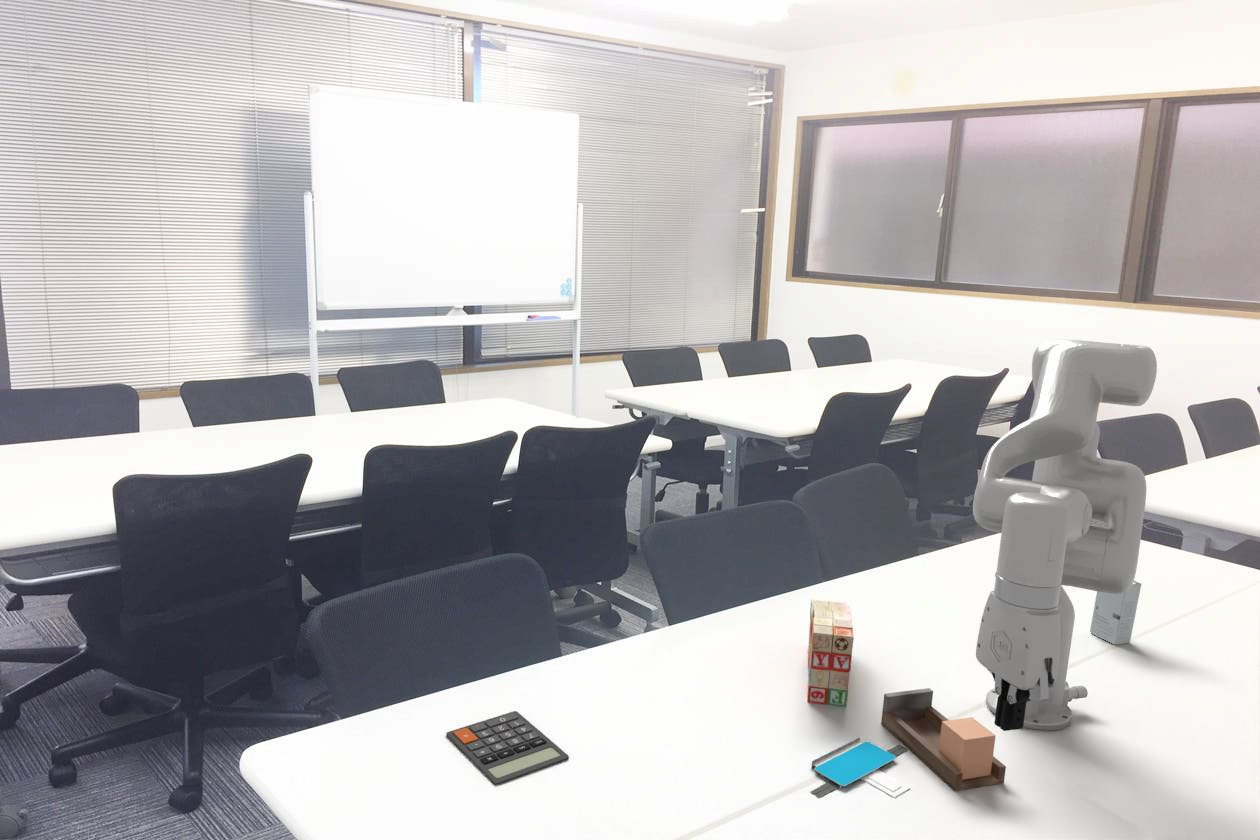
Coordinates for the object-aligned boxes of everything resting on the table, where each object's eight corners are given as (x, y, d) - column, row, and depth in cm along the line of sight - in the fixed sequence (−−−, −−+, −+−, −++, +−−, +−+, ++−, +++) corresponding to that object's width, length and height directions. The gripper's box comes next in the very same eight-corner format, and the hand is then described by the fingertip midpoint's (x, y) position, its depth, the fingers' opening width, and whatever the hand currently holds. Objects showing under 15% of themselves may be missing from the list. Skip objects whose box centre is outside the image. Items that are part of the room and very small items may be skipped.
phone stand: (855, 824, 118) (856, 813, 118) (784, 780, 127) (785, 769, 127) (943, 772, 131) (945, 761, 131) (873, 735, 140) (874, 725, 140)
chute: (926, 717, 145) (929, 688, 144) (1003, 782, 128) (1008, 749, 127) (881, 723, 142) (884, 693, 141) (954, 791, 125) (958, 757, 125)
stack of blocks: (807, 646, 169) (812, 582, 166) (842, 650, 168) (848, 586, 165) (807, 703, 148) (813, 631, 146) (847, 708, 147) (854, 635, 144)
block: (967, 755, 133) (972, 717, 132) (990, 775, 128) (995, 735, 127) (937, 760, 131) (942, 721, 130) (959, 780, 127) (964, 740, 126)
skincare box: (1088, 633, 179) (1097, 573, 177) (1105, 630, 181) (1114, 571, 179) (1115, 646, 174) (1125, 585, 171) (1133, 643, 176) (1142, 582, 173)
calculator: (516, 709, 141) (569, 755, 129) (515, 714, 141) (569, 761, 130) (445, 731, 134) (495, 782, 123) (445, 737, 134) (495, 788, 123)
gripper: (963, 573, 123) (947, 702, 126) (1044, 616, 109) (1024, 760, 112) (1010, 570, 125) (994, 697, 128) (1095, 612, 111) (1075, 753, 114)
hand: (1008, 726), depth 120 cm, fingers closed
